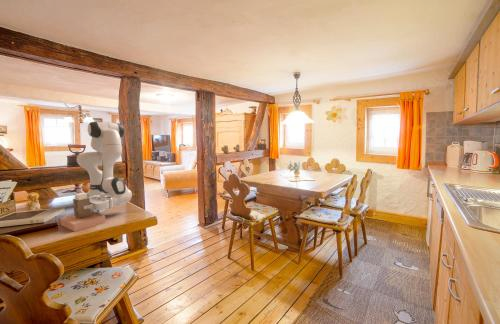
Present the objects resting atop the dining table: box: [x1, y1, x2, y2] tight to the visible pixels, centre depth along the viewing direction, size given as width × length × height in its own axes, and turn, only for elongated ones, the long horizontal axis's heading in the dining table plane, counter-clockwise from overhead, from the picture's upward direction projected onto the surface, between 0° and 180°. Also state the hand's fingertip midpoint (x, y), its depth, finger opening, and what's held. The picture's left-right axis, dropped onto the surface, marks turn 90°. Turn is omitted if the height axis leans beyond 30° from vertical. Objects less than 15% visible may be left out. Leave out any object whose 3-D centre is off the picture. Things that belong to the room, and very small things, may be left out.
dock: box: [59, 211, 106, 232], centre depth 140 cm, size 18×16×4 cm
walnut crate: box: [72, 198, 91, 218], centre depth 139 cm, size 6×6×10 cm
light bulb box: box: [88, 195, 107, 214], centre depth 160 cm, size 11×7×11 cm, turn 168°
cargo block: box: [74, 192, 87, 200], centre depth 138 cm, size 4×4×3 cm
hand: (80, 206), depth 138 cm, fingers closed on walnut crate, 6 cm apart
